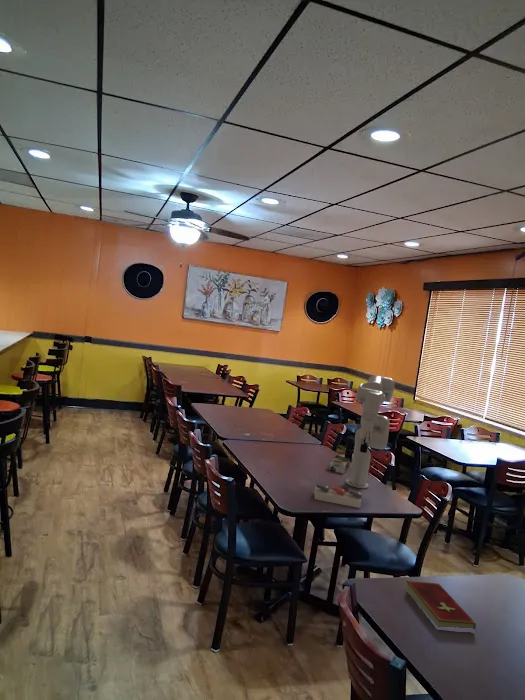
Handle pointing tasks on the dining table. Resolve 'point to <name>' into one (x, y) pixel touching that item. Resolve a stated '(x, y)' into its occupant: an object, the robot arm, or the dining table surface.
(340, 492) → the red rocker
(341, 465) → the juice carton
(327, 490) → the charcoal rocker
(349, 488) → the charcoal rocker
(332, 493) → the rocker switch panel
